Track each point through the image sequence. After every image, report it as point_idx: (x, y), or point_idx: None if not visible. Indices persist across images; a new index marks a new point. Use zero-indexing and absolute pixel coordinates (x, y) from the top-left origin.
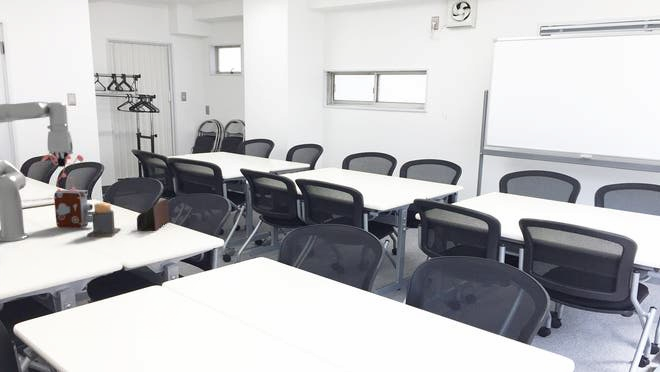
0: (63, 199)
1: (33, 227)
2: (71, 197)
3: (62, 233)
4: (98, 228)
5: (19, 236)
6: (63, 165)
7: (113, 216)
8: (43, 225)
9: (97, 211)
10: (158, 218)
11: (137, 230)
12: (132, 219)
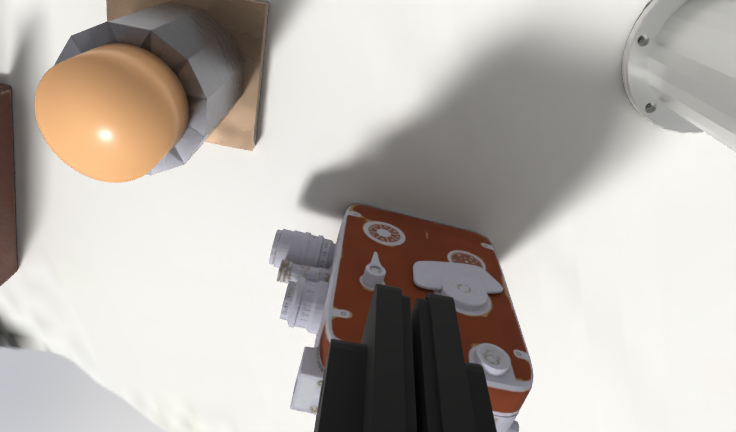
0: (459, 330)
1: (613, 274)
2: None
3: (437, 116)
4: (182, 10)
5: (675, 14)
6: (363, 342)
7: None
8: (567, 304)
9: (142, 56)
10: None
11: (5, 86)
12: (144, 338)
